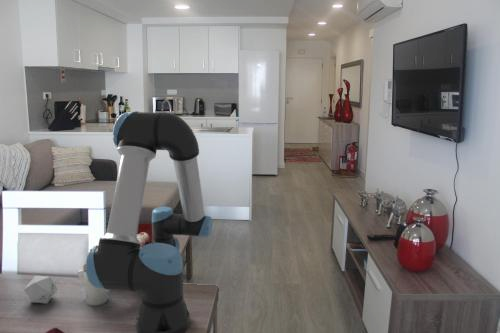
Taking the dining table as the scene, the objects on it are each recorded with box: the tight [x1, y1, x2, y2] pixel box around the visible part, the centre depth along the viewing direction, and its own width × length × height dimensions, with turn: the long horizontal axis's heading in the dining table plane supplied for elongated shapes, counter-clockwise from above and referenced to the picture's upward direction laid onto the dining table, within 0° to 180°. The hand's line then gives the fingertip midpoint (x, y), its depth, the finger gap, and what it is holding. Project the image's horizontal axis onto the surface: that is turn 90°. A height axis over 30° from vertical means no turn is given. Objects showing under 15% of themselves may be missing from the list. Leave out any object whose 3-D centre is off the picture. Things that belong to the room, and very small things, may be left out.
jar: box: [82, 263, 109, 306], centre depth 132 cm, size 7×7×12 cm
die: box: [23, 275, 58, 305], centre depth 132 cm, size 8×9×10 cm
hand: (92, 281), depth 131 cm, fingers open, 13 cm apart
